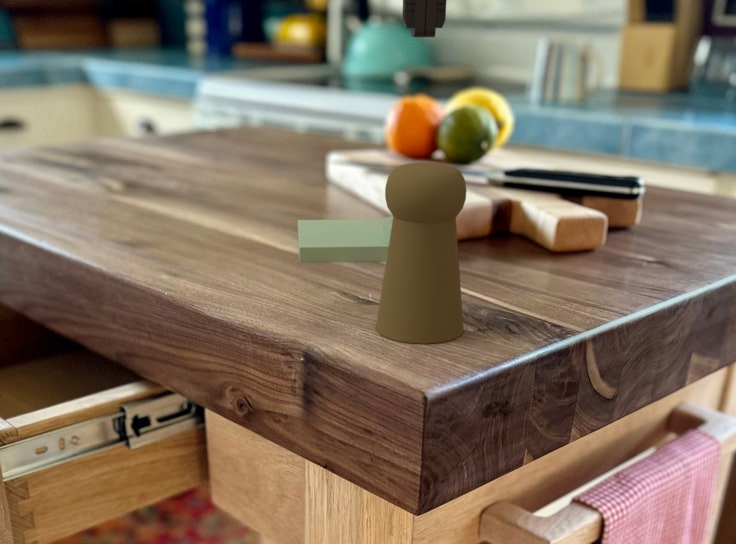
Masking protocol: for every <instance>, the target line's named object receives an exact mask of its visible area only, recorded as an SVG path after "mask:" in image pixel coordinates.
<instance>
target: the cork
mask: <svg viewBox="0 0 736 544" xmlns="http://www.w3.org/2000/svg"><path fill="white" fill-rule="evenodd" d="M384 197H385V202H386V207H387V209H388V210H389V212H390V213H391V216H393V222H392V228H391V234H390V241H389V247H388V253H387V260H386V261H385V267H384V272H383V279H382V285H381V292H380V299H379V304H378V311H377V315H376V316H377V318H376V323H375V324H376V325H375V330H376V331H377V333H378V334H380V335H381V336H383V337H385V338H386V339H390V340H393V341H397V342H402V343H409V344H423V345H424V344H426V345H428V344H439V343H445V342H449V341H453V340H454V339H457V338H460V337H461V335H462V334H463V333H464V331H465V330H464V318H463V302H462V289H461V274H460V260H459V246H458V245H459V244H458V243H459V242H458V231H457V230H458V229H457V217H458V216H459V214H460V213H461V212H462V210H464V207H465V202H466V200H467V185H466V180H465V177H464V175H463V173H462V171H461V170H460V169H458V168H456V167H455V166H453V165H449V164H445V163H441V162H435V161H434V162H432V161H418V162H410V163H406V164H401V165H399V166H397V167H395V168H394V169H392V170H391V171H390V173H389V175H388V177H387V178H386V183H385V188H384Z"/></svg>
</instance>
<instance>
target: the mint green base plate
mask: <svg viewBox="0 0 736 544" xmlns="http://www.w3.org/2000/svg"><path fill="white" fill-rule="evenodd" d="M392 222H393V215H391V216H388V217H386V218H375V219H373V218H372V219H371V218H370V219H369V218H368V219H367V218H365V219H364V218H362V219H298V220H297V240H298V242H297V243H298V259H299V260H298V261H299V263H346V262H347V263H349V262H350V263H351V262H354V263H356V262H386V260H387V253H388V247H389V241H390V234H391V228H392Z"/></svg>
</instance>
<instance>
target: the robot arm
mask: <svg viewBox="0 0 736 544" xmlns="http://www.w3.org/2000/svg"><path fill="white" fill-rule="evenodd" d="M401 14H402V15H401V17H402V18H401V19H402V23H403V27H404V28H406V29H410V34H411V37H412V38H435V37H436V29H443V27H444V25H445V22H446V17H447V16H446V15H447V0H402V13H401Z"/></svg>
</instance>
